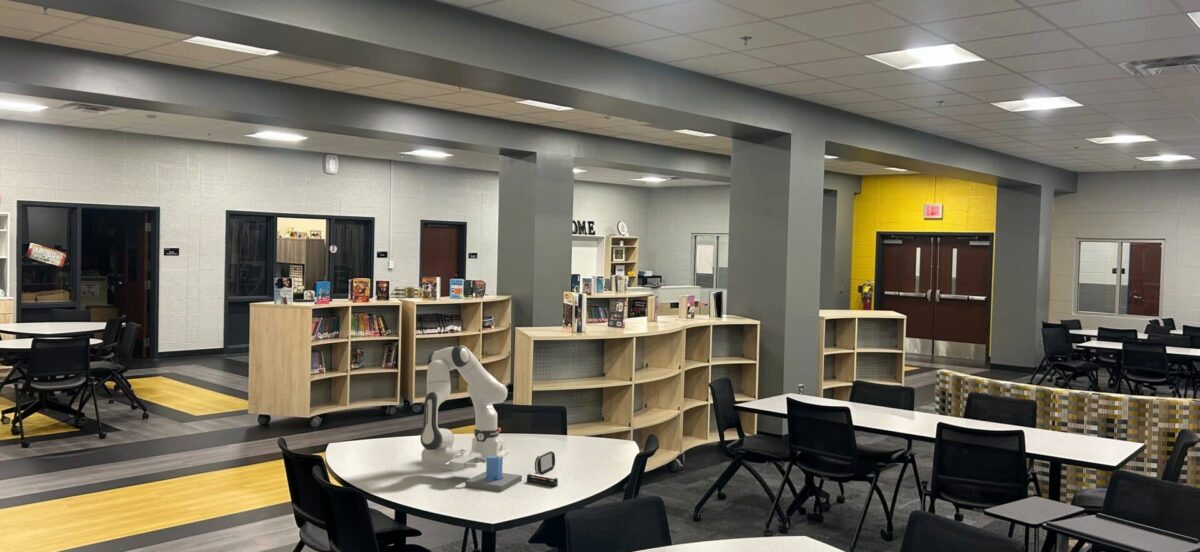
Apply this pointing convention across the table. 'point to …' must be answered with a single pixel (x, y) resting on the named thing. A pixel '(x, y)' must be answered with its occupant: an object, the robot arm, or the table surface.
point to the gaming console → (545, 463)
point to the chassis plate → (493, 482)
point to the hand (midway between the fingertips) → (481, 463)
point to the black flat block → (542, 480)
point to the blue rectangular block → (494, 468)
